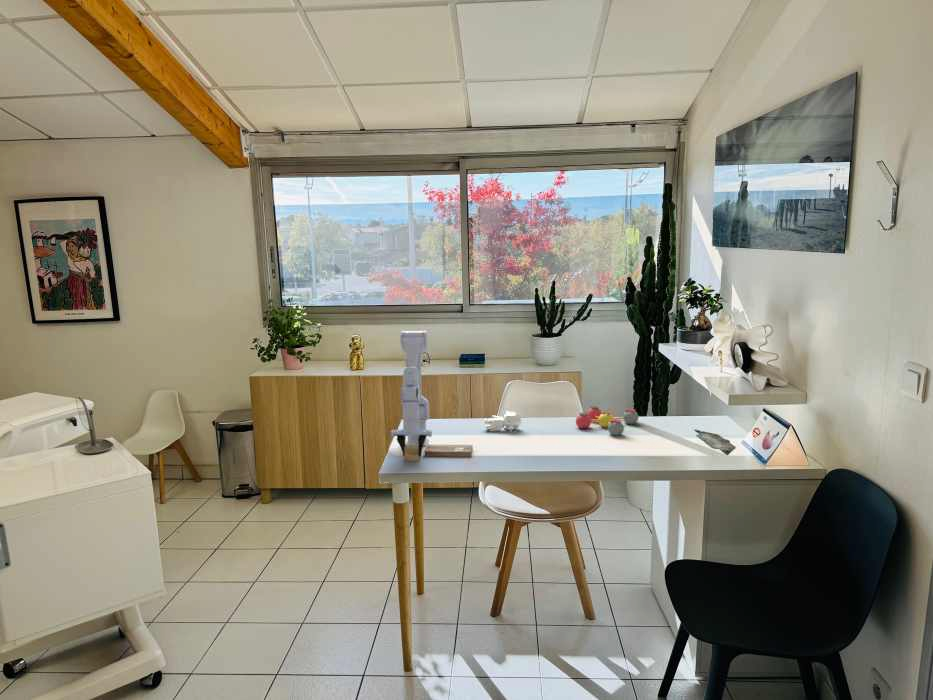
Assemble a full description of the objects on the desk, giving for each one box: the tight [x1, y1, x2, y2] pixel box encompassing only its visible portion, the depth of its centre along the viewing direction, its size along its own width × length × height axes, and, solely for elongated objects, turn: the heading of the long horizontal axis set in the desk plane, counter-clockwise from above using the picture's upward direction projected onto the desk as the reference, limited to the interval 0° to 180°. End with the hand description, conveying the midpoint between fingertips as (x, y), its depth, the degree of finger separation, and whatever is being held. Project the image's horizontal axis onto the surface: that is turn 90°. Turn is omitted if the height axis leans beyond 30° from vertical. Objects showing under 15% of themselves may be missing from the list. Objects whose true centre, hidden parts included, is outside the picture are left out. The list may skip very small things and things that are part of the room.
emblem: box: [693, 428, 736, 456], centre depth 249 cm, size 32×10×1 cm, turn 2°
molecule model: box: [575, 405, 639, 437], centre depth 271 cm, size 25×21×6 cm
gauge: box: [403, 443, 421, 462], centre depth 236 cm, size 7×5×5 cm
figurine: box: [483, 409, 522, 433], centre depth 268 cm, size 11×7×15 cm
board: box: [424, 444, 473, 457], centre depth 241 cm, size 8×17×2 cm, turn 86°
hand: (412, 455), depth 234 cm, fingers closed on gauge, 5 cm apart
